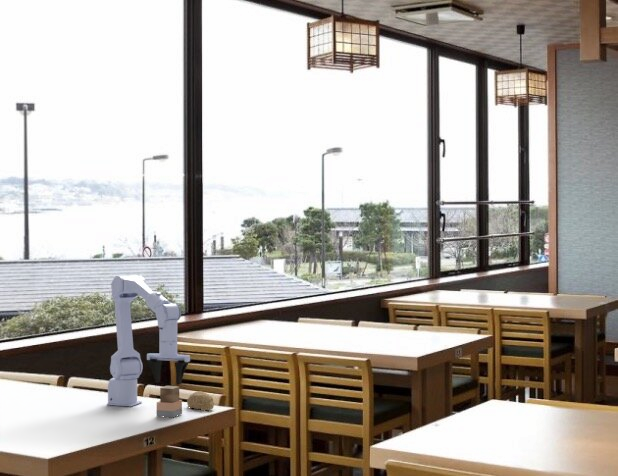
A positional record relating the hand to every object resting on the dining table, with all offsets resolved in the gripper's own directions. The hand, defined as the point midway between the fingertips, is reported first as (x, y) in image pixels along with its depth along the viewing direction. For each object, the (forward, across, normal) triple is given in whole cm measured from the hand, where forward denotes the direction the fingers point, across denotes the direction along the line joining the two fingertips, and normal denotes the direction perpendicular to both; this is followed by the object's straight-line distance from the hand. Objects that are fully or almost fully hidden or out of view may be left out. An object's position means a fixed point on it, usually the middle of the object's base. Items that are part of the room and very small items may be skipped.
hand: (168, 383), depth 306 cm
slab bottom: (+11, 0, 0) cm, 11 cm away
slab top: (+8, 0, 0) cm, 8 cm away
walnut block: (+6, +1, 0) cm, 6 cm away
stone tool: (+11, +5, +14) cm, 18 cm away
